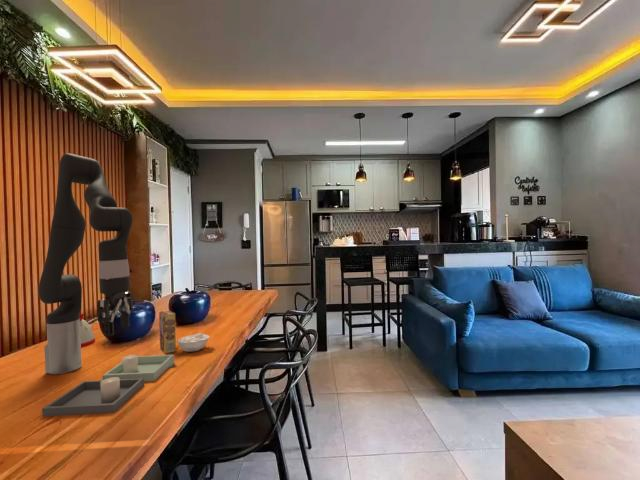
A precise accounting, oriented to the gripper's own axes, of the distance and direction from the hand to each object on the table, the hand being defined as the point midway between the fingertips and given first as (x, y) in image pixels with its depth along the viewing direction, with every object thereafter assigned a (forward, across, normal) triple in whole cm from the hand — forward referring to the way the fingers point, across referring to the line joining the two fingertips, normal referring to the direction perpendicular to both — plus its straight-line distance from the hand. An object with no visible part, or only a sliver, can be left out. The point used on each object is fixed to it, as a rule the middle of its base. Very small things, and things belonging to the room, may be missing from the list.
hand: (117, 331), depth 95 cm
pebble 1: (+17, +4, 0) cm, 18 cm away
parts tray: (+18, +4, -4) cm, 19 cm away
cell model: (+19, -35, +10) cm, 41 cm away
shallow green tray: (+18, -14, 0) cm, 23 cm away
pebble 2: (+17, -14, -4) cm, 22 cm away
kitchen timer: (+17, -52, -45) cm, 71 cm away
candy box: (+18, -38, -1) cm, 42 cm away
